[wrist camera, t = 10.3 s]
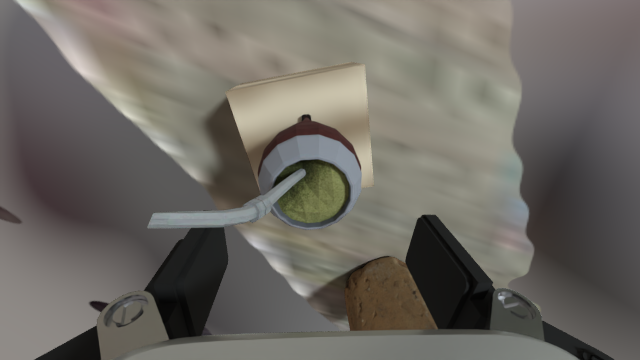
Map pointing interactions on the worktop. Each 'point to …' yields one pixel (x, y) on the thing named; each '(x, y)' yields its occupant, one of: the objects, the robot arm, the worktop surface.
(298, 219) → the mate gourd
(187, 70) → the worktop surface
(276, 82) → the maple block
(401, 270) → the block
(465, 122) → the worktop surface
